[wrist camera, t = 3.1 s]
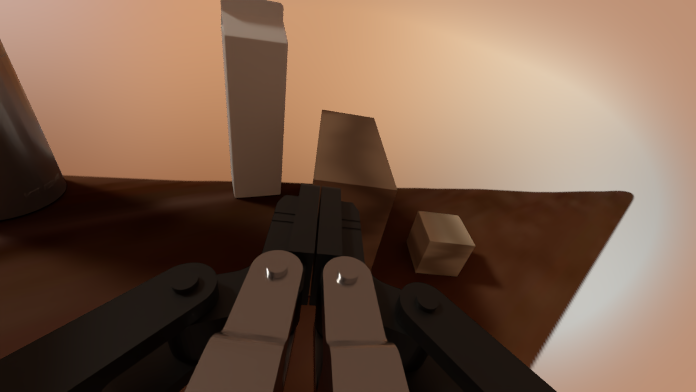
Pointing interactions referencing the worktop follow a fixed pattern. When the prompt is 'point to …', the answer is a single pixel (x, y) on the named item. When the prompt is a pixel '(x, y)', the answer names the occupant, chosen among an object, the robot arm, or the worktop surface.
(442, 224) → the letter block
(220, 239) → the worktop surface
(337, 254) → the robot arm
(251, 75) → the milk
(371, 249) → the walnut panel
